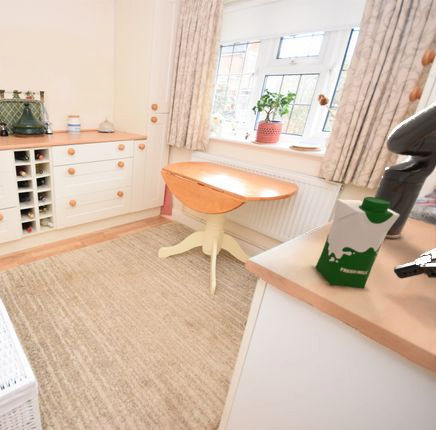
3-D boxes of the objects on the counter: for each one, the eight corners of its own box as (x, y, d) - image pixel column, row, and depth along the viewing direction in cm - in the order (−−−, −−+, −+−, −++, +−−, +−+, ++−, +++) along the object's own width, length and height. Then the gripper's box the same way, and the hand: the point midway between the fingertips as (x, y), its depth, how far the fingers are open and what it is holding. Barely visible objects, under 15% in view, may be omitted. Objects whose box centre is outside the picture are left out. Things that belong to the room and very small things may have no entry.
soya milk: (327, 287, 64) (360, 202, 56) (308, 265, 72) (334, 188, 65) (371, 291, 63) (410, 206, 55) (347, 268, 71) (378, 191, 63)
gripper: (501, 211, 53) (386, 246, 65) (518, 233, 44) (382, 269, 56) (531, 247, 52) (408, 276, 64) (556, 278, 43) (407, 304, 55)
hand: (396, 273), depth 60 cm, fingers closed
